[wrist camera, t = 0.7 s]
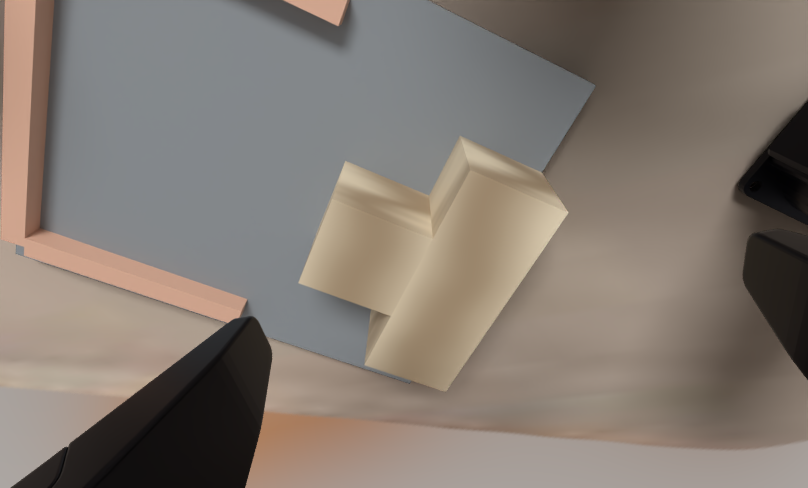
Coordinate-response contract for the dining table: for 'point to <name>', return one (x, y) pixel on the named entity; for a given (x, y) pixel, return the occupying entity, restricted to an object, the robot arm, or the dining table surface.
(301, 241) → the board
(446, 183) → the t block
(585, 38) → the dining table surface
